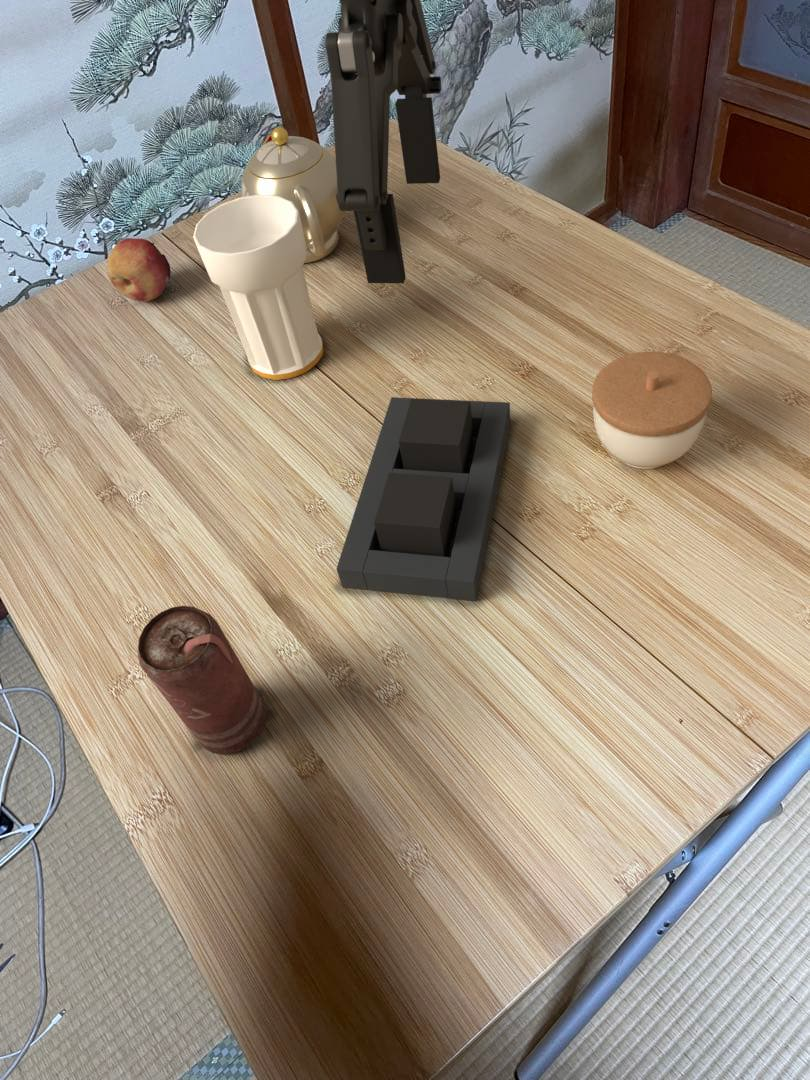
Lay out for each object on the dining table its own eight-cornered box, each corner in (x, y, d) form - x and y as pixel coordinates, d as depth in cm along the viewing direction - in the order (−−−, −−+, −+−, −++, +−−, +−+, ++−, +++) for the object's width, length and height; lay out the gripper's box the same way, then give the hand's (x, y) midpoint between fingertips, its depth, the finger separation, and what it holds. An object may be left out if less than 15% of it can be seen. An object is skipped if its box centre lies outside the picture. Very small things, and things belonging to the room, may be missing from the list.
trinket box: (628, 502, 79) (636, 432, 72) (569, 434, 86) (571, 363, 78) (723, 459, 81) (741, 386, 74) (658, 396, 87) (668, 323, 80)
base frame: (510, 423, 88) (509, 402, 86) (476, 601, 75) (473, 582, 72) (395, 417, 91) (391, 396, 88) (342, 587, 78) (336, 568, 75)
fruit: (112, 298, 113) (87, 245, 107) (160, 271, 115) (138, 218, 109) (139, 321, 109) (114, 268, 102) (189, 293, 111) (167, 239, 105)
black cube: (464, 487, 83) (459, 444, 79) (406, 483, 85) (398, 441, 80) (474, 444, 87) (470, 401, 82) (418, 440, 88) (411, 398, 83)
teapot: (248, 236, 118) (211, 120, 105) (338, 207, 119) (313, 88, 107) (280, 304, 107) (244, 183, 94) (379, 270, 108) (357, 147, 96)
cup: (237, 337, 104) (190, 208, 90) (325, 316, 104) (292, 184, 90) (244, 396, 96) (195, 265, 83) (339, 373, 97) (305, 238, 83)
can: (270, 751, 68) (216, 667, 57) (194, 761, 69) (127, 679, 58) (271, 686, 72) (222, 595, 61) (200, 696, 72) (138, 607, 62)
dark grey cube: (446, 568, 77) (439, 527, 73) (384, 562, 79) (373, 522, 74) (457, 518, 81) (452, 476, 76) (397, 513, 82) (388, 472, 78)
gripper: (349, -160, 57) (394, 147, 73) (225, -14, 42) (317, 328, 58) (457, -173, 55) (479, 144, 71) (368, -26, 40) (421, 331, 57)
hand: (406, 228), depth 65 cm, fingers open, 13 cm apart
